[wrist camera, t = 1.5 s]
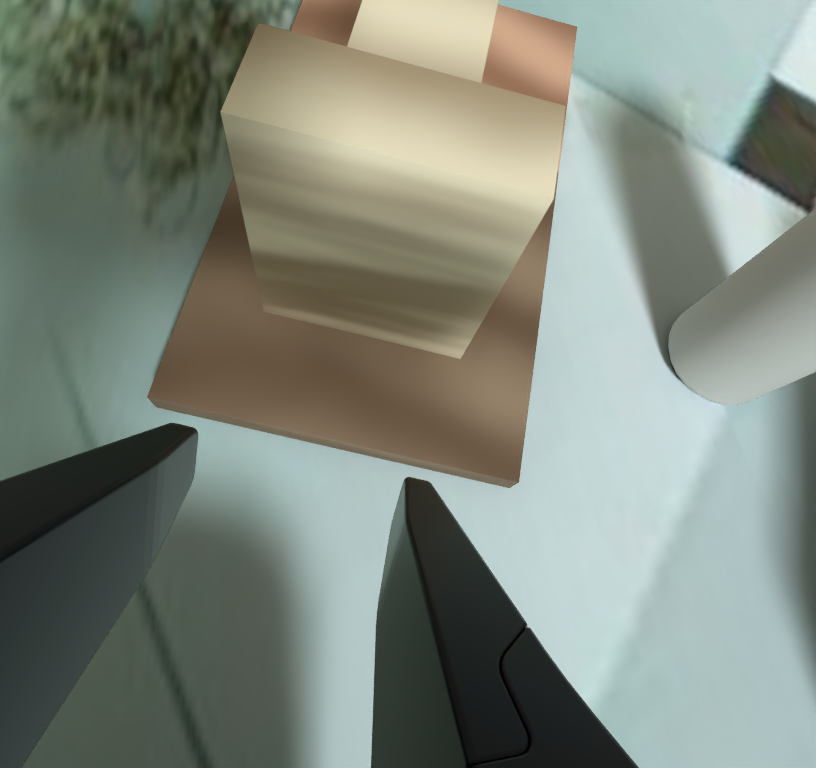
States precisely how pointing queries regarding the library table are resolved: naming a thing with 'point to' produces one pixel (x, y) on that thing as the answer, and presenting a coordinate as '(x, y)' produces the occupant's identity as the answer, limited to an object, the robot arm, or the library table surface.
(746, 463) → the library table surface
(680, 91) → the library table surface
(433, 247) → the T block
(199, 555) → the library table surface
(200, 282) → the board
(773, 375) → the beverage can
